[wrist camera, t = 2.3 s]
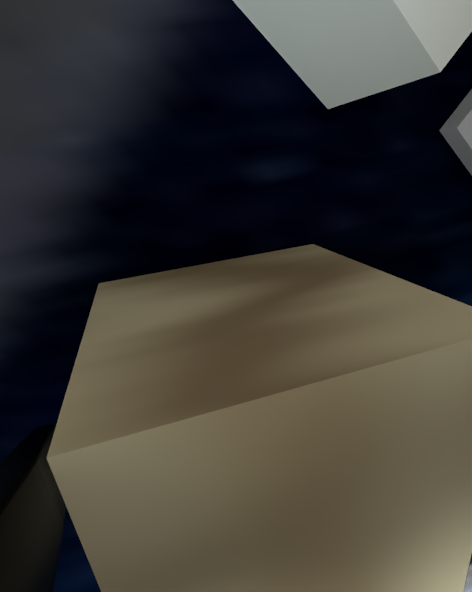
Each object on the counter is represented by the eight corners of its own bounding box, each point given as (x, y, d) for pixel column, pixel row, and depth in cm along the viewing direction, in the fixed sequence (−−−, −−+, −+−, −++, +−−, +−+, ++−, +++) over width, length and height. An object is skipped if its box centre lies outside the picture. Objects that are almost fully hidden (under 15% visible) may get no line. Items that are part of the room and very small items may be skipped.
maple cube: (311, 243, 10) (519, 324, 5) (316, 407, 12) (462, 594, 7) (98, 282, 9) (46, 458, 3) (146, 458, 11) (161, 737, 6)
